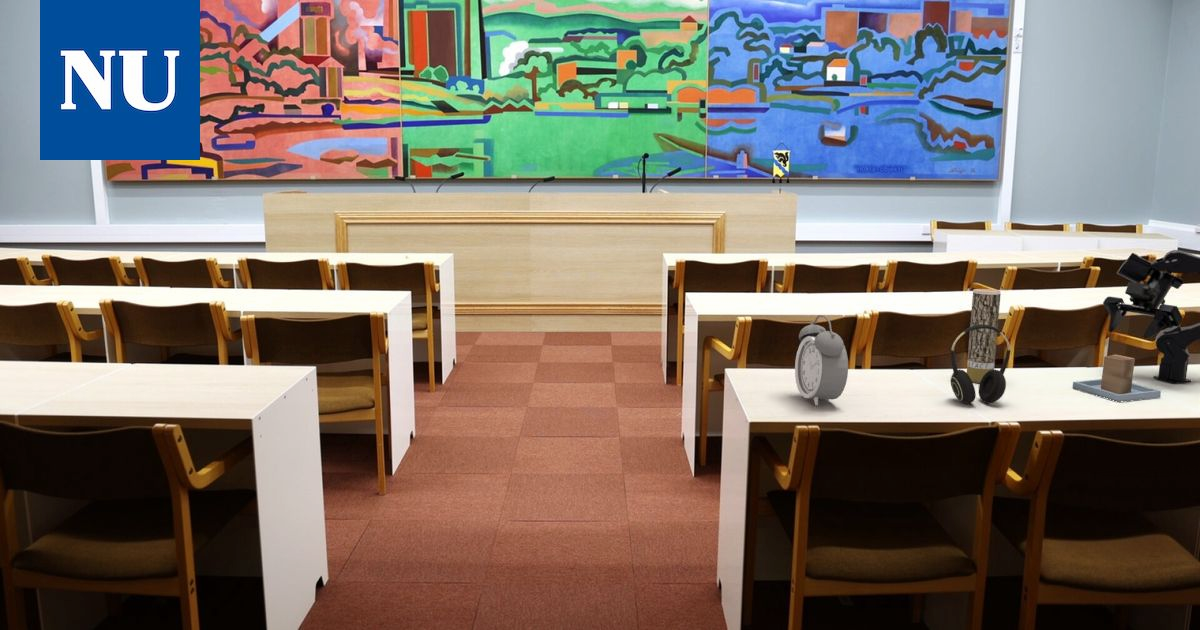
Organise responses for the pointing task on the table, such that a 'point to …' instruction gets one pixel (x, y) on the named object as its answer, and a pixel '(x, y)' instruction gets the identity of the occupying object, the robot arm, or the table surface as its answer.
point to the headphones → (990, 383)
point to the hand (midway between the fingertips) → (1126, 334)
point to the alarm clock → (820, 363)
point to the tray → (1135, 394)
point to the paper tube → (983, 333)
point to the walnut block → (1117, 374)
